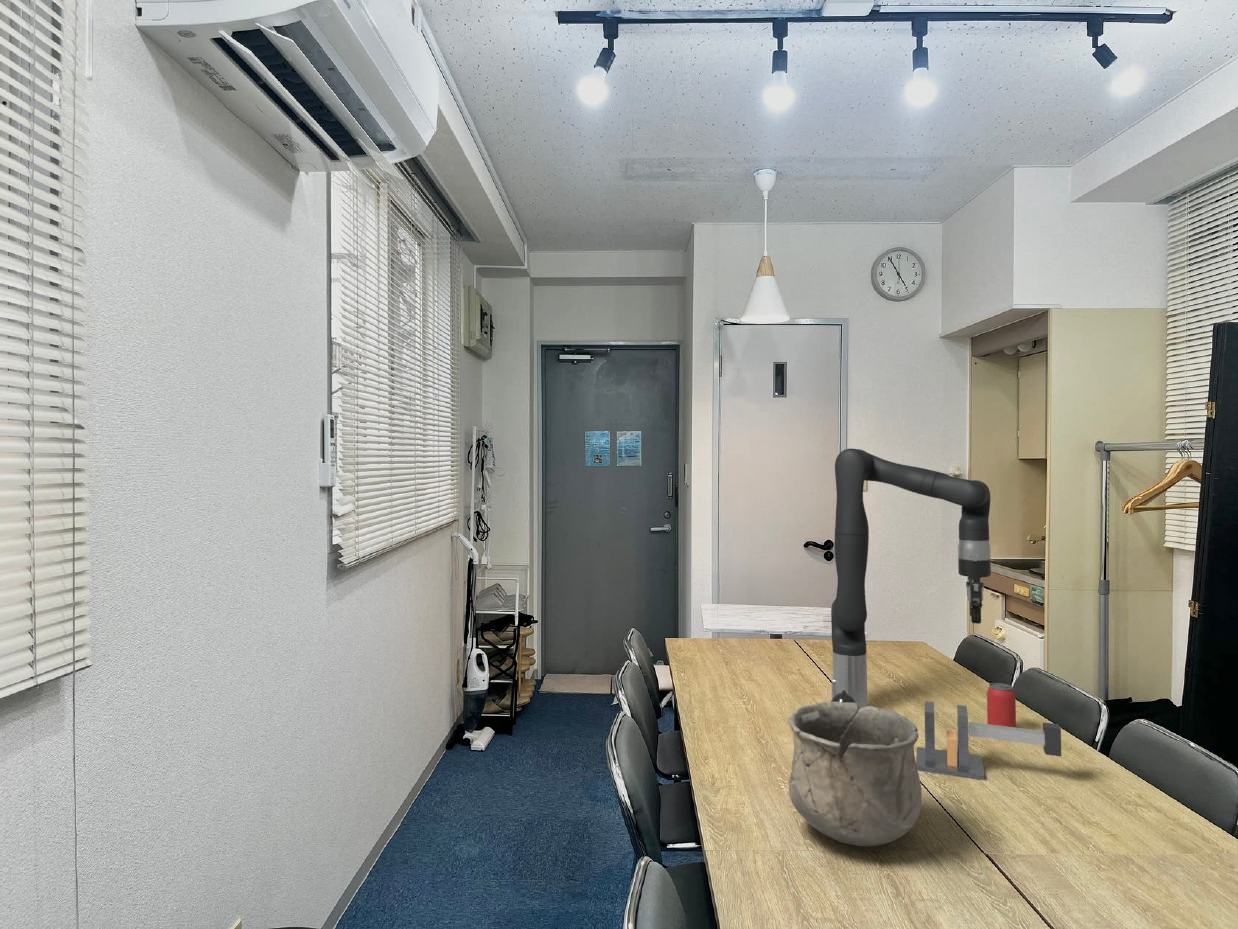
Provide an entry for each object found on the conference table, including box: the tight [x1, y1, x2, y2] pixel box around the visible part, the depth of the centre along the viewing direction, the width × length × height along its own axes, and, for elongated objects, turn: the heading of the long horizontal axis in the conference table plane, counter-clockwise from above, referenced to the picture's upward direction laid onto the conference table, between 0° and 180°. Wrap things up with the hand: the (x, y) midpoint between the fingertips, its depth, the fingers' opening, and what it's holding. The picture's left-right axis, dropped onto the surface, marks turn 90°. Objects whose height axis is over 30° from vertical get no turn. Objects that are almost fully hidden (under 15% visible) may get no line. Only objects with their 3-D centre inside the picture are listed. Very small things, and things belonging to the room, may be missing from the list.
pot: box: [787, 701, 923, 847], centre depth 133 cm, size 25×24×21 cm
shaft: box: [968, 721, 1062, 757], centre depth 158 cm, size 18×3×6 cm, turn 66°
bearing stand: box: [915, 700, 985, 781], centre depth 163 cm, size 14×12×13 cm
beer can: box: [986, 682, 1017, 728], centre depth 183 cm, size 7×7×12 cm
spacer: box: [946, 729, 958, 767], centre depth 163 cm, size 2×6×6 cm, turn 155°
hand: (975, 619), depth 181 cm, fingers open, 8 cm apart
